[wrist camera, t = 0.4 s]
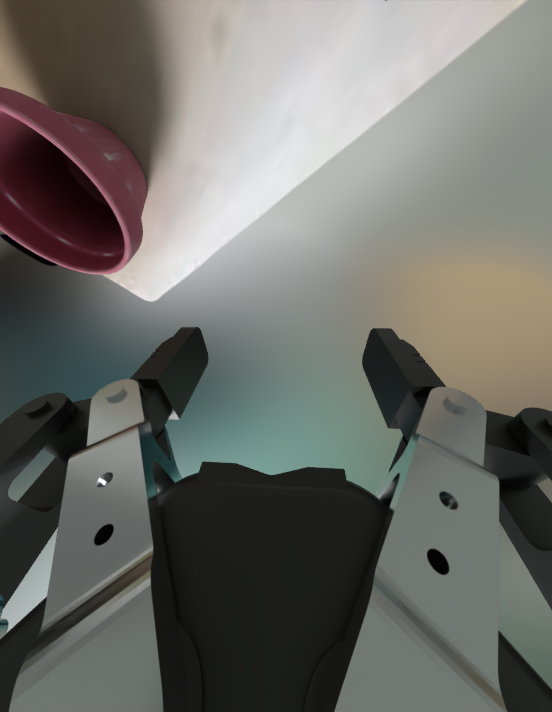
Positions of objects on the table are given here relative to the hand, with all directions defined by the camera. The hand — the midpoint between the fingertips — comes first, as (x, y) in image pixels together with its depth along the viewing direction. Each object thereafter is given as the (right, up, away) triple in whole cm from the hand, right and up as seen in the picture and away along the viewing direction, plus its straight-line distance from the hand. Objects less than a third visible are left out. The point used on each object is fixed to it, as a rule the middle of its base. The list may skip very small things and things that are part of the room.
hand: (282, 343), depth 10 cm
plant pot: (-23, +24, +17) cm, 37 cm away
